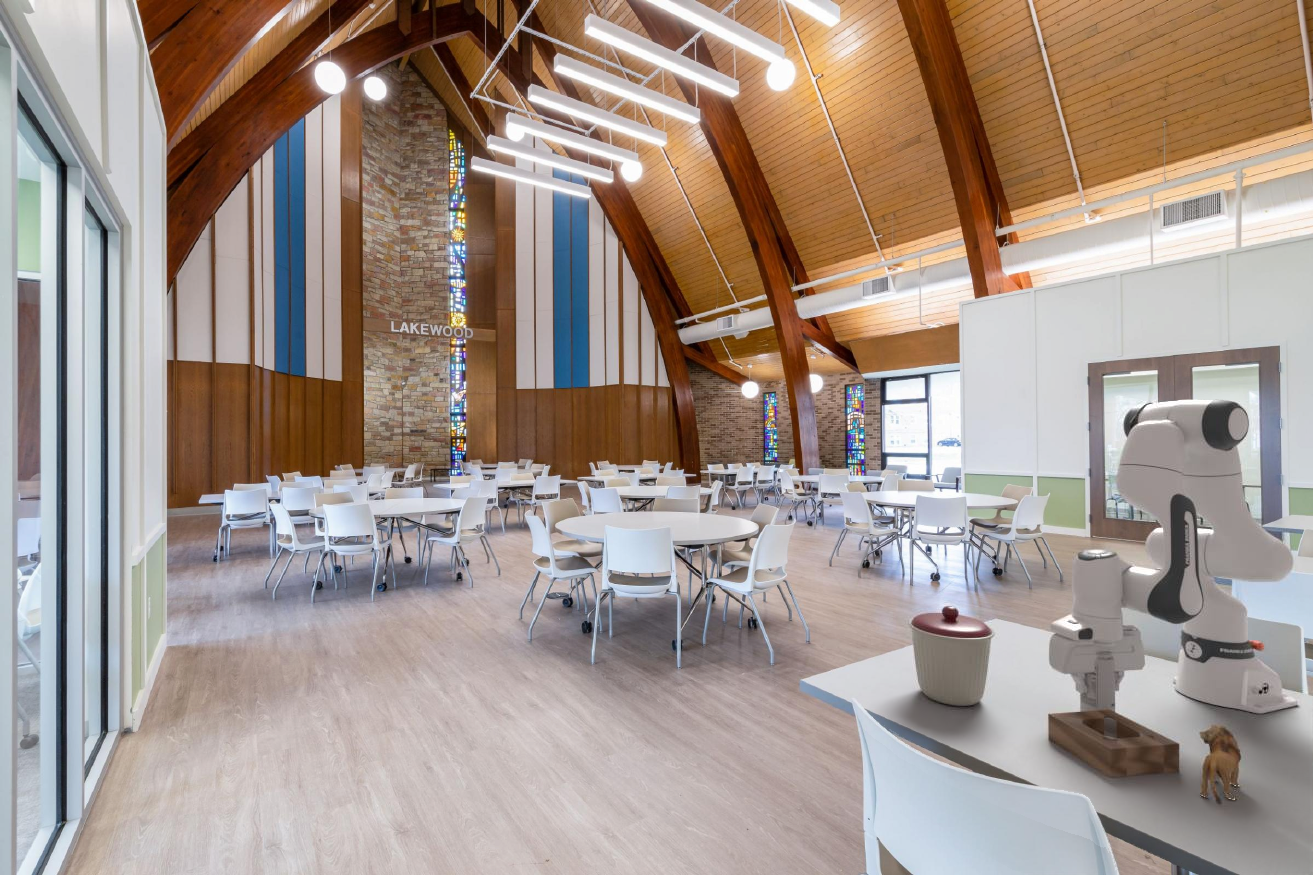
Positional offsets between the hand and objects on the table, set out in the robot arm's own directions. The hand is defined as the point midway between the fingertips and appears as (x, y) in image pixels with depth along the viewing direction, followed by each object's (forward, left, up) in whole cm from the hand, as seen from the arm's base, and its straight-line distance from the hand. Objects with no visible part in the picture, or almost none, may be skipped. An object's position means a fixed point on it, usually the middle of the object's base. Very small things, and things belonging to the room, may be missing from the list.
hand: (1097, 691), depth 128 cm
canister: (+24, -15, -6) cm, 29 cm away
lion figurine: (+1, +25, -6) cm, 26 cm away
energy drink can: (0, 0, -6) cm, 6 cm away
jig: (+10, +13, -6) cm, 17 cm away
